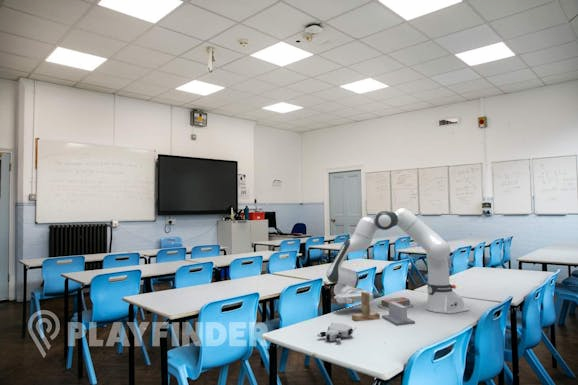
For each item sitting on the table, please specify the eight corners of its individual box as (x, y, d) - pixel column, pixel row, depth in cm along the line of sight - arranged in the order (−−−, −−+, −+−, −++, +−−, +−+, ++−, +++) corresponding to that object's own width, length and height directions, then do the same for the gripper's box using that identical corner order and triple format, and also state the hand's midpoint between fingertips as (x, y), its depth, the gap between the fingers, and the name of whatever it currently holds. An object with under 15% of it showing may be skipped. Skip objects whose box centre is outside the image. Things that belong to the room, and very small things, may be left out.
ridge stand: (399, 316, 202) (398, 300, 202) (414, 323, 189) (414, 307, 189) (381, 317, 199) (381, 302, 200) (396, 325, 186) (395, 308, 186)
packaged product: (400, 295, 230) (413, 299, 221) (400, 303, 230) (413, 307, 221) (376, 299, 222) (388, 302, 213) (376, 307, 222) (388, 311, 213)
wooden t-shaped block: (377, 317, 200) (376, 291, 201) (379, 319, 197) (379, 292, 198) (352, 319, 197) (351, 293, 197) (354, 321, 194) (354, 294, 194)
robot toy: (340, 347, 160) (357, 335, 172) (339, 337, 160) (356, 325, 171) (315, 341, 167) (333, 330, 179) (315, 331, 167) (333, 320, 179)
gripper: (332, 291, 214) (342, 296, 200) (366, 288, 219) (378, 293, 206) (332, 302, 214) (342, 308, 200) (366, 299, 219) (378, 305, 206)
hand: (360, 301), depth 203 cm, fingers open, 8 cm apart
